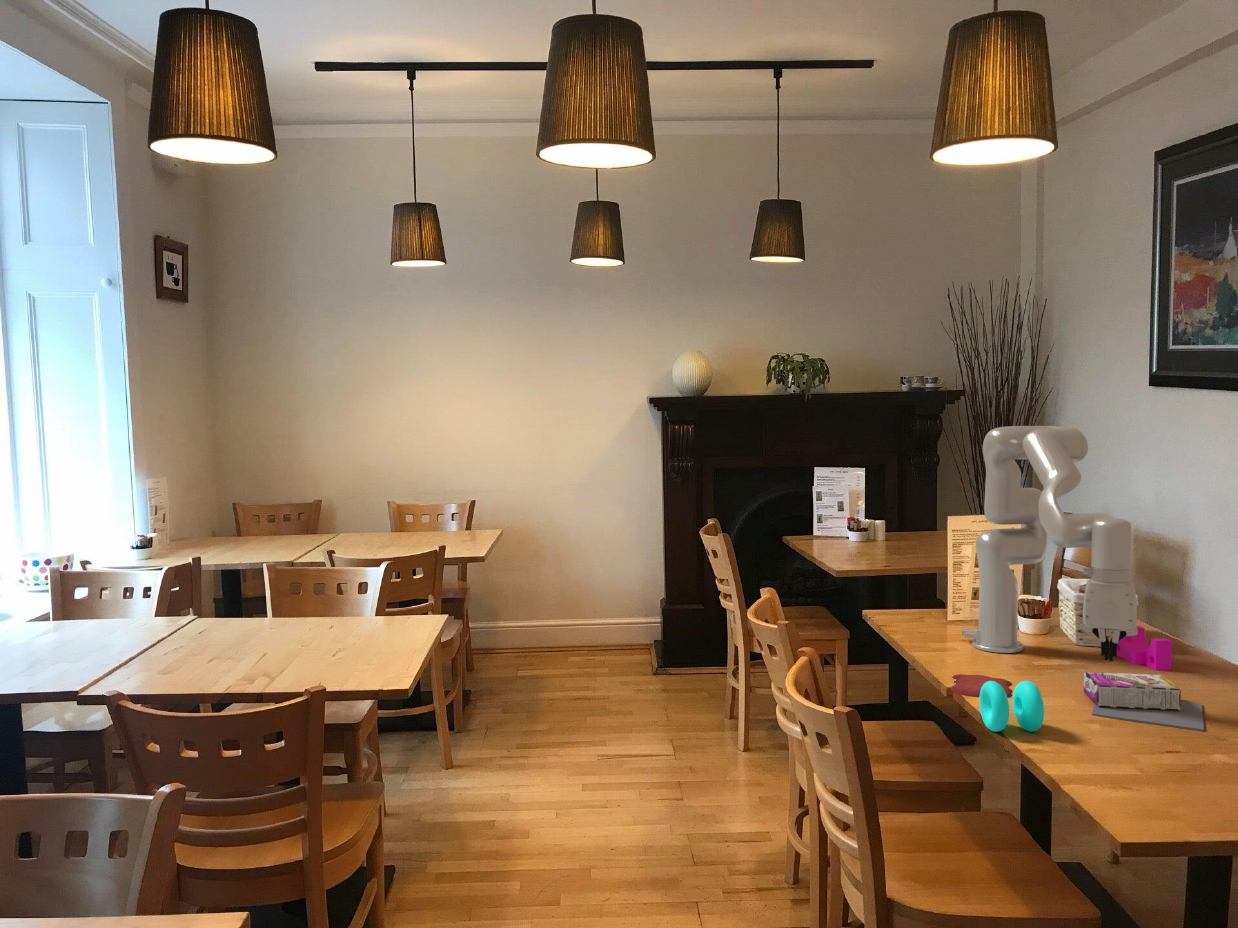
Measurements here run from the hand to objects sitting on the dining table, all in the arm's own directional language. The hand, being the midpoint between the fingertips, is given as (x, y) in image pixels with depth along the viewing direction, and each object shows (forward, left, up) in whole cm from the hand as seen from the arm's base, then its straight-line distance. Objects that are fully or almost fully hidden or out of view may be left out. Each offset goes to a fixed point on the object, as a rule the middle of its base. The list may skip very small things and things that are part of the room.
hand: (1108, 659), depth 202 cm
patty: (-26, -1, -11) cm, 28 cm away
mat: (+7, 0, -10) cm, 13 cm away
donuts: (-16, -26, -10) cm, 32 cm away
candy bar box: (-4, +1, -7) cm, 8 cm away
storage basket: (-7, +61, -10) cm, 62 cm away
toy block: (+5, +41, -11) cm, 42 cm away
